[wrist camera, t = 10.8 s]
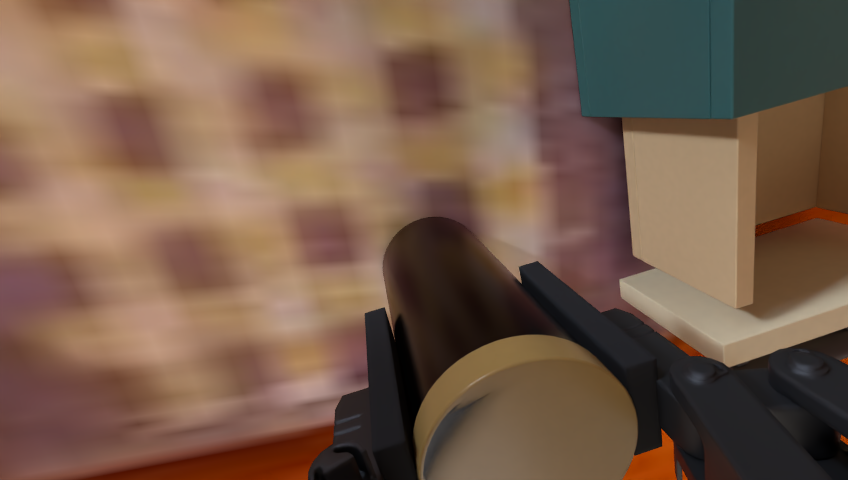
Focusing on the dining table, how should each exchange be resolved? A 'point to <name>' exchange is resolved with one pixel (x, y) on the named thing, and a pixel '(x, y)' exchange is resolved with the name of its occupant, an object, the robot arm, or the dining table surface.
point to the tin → (496, 370)
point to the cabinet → (706, 55)
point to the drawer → (742, 229)
